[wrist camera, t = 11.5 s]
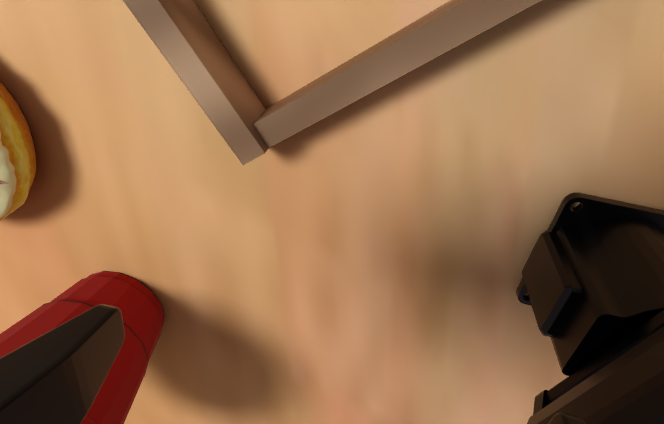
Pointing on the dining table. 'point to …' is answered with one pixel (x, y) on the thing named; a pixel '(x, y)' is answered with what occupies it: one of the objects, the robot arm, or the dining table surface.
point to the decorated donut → (14, 155)
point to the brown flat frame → (320, 95)
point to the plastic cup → (137, 348)
